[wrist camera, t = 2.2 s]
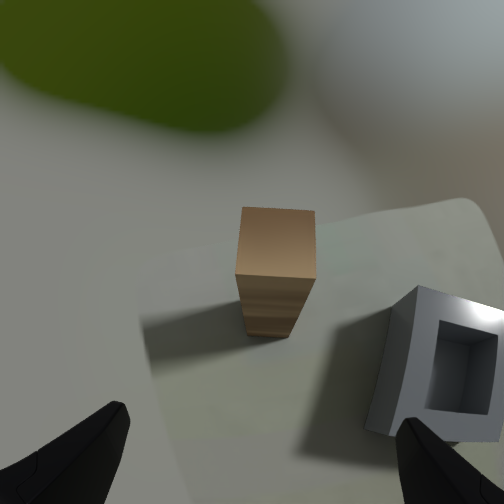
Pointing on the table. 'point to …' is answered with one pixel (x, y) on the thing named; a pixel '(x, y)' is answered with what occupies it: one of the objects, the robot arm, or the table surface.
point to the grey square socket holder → (442, 368)
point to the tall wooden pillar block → (275, 268)
